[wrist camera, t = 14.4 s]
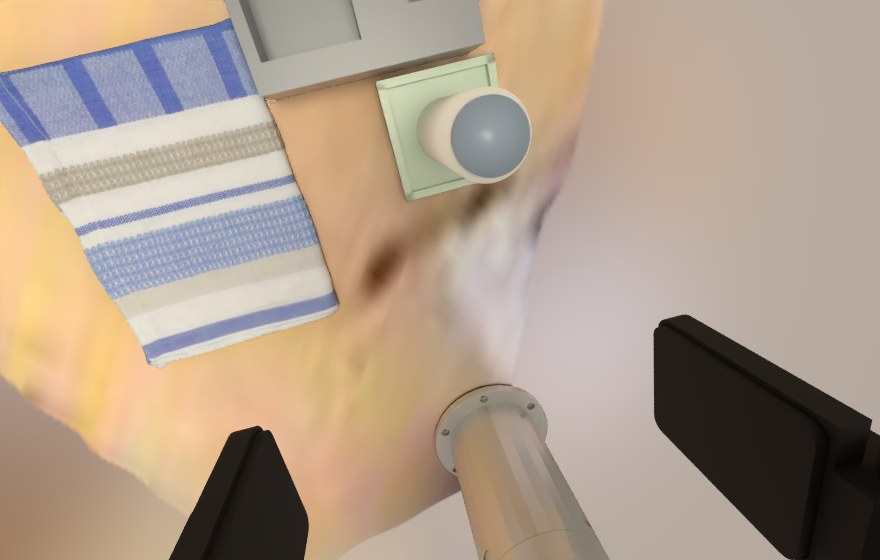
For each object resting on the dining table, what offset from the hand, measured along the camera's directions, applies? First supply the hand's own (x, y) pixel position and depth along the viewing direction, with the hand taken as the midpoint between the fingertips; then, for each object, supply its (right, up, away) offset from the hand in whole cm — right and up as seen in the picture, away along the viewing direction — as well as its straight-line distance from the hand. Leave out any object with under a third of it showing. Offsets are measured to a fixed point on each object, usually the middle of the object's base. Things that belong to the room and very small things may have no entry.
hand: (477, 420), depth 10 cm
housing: (-7, +23, +19) cm, 31 cm away
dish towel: (-21, +9, +23) cm, 33 cm away
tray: (-1, +16, +24) cm, 28 cm away
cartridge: (0, +15, +23) cm, 27 cm away
